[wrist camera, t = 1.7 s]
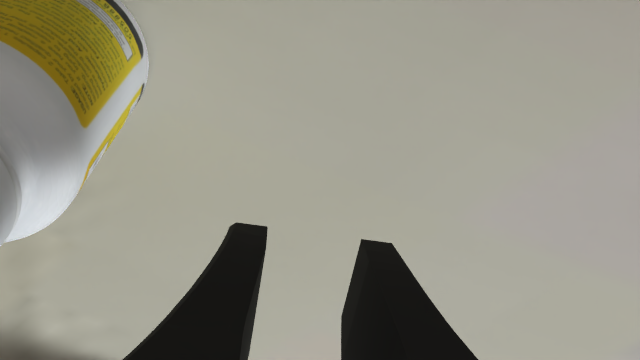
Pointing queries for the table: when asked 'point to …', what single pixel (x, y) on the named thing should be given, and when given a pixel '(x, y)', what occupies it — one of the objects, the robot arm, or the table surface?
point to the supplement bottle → (61, 101)
